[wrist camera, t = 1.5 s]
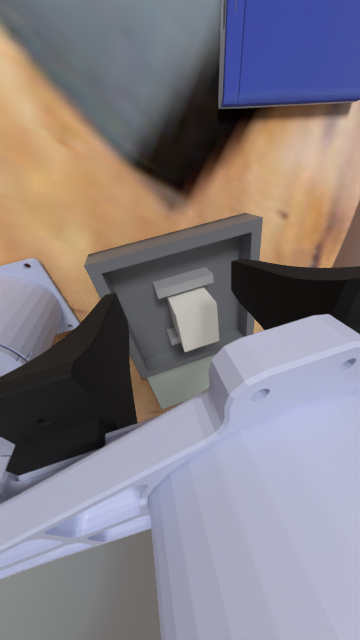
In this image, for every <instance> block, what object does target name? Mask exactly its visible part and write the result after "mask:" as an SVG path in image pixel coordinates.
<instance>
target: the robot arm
mask: <svg viewBox="0 0 360 640" xmlns="http://www.w3.org/2000/svg"><path fill="white" fill-rule="evenodd" d="M25 263H27V264H29V265H30V266H31V268H29V267H27V266H26V265H25ZM231 291H232V292H233V294H234V296H235V297H236V299H237V300H238V301H239V303H240V304H241V305H242V306H243V307H244V308H245V309H246V310H247V311H248V312H249V313H250V314H251V315H252V317H253V318H254V319H255V320H256V321H257V322H258V323H259V324H260V325H261V326H262V328H263V329H264V331H261V332H258V333H255V334H251V335H248V336H245V337H242V338H239V339H237V340H235V341H233V342H231V343H229V344H227V345H225V346H224V347H223V348H222V349H221V350H220V351H219V352H218V353H217V354H216V355H215V356H214V357H213V359H212V360H211V364H210V368H209V371H208V374H209V382H210V384H209V388H207V389H206V390H204V391H202V392H200V393H199V394H197V395H195V396H193V397H191V398H190V399H188V400H186V401H184V402H182V403H181V404H179V405H177V406H175V407H173V408H172V409H170V410H168V411H166V412H165V413H163V414H161V415H159V416H157V417H154V418H151V419H148V420H145V421H142V422H139V423H137V417H136V411H135V404H134V398H133V390H132V383H131V375H130V364H129V327H128V320H127V317H126V315H125V313H124V310H123V308H122V306H121V304H120V301H119V299H118V297H117V294H116V292H114V293H110V294H106V295H104V296H103V298H102V299H101V300H100V301H99V302H98V304H97V305H96V306H95V307H94V309H93V310H92V311H91V312H90V313H89V314H88V315H87V317H86V318H85V319H84V320H83V321H82V322H81V323H80V322H79V320H78V319H77V317H76V316H75V314H74V313H73V311H72V310H71V308H70V306H69V305H68V303H67V302H66V300H65V299H64V297H63V296H62V294H61V293H60V291H59V290H58V288H57V287H56V285H55V284H54V282H53V281H52V279H51V278H50V276H49V274H48V273H47V271H46V270H45V268H44V267H43V265H42V264H41V262H40V261H39V260H38V259H36V258H29V259H25V260H21V261H17V262H13V263H9V264H6V265H2V266H0V579H3V578H6V577H8V576H11V575H13V574H16V573H18V572H22V571H24V570H27V569H30V568H33V567H36V566H39V565H41V564H44V563H47V562H50V561H52V560H56V559H59V558H62V557H65V556H68V555H70V554H74V553H77V552H80V551H83V550H86V549H89V548H92V547H95V546H98V545H102V544H105V543H108V542H111V541H114V540H117V539H120V538H123V537H126V536H129V535H132V534H135V533H139V532H142V531H145V530H148V529H152V540H153V550H154V561H155V571H156V572H155V573H156V584H157V594H158V605H159V616H160V627H161V639H162V640H360V266H358V267H345V268H344V267H343V268H307V267H294V266H286V265H278V264H272V263H267V262H261V261H256V260H250V259H238V260H234V261H231ZM69 325H72V326H69ZM73 329H74V330H73ZM70 330H73V331H72V332H70V333H69V334H68V335H67V336H66V337H64V338H63V339H62V340H60V341H59V342H58V343H56V344H55V345H54V346H52V347H51V345H52V343H53V340H54V338H55V335H56V334H60V333H63V332H66V331H70Z"/></svg>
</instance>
